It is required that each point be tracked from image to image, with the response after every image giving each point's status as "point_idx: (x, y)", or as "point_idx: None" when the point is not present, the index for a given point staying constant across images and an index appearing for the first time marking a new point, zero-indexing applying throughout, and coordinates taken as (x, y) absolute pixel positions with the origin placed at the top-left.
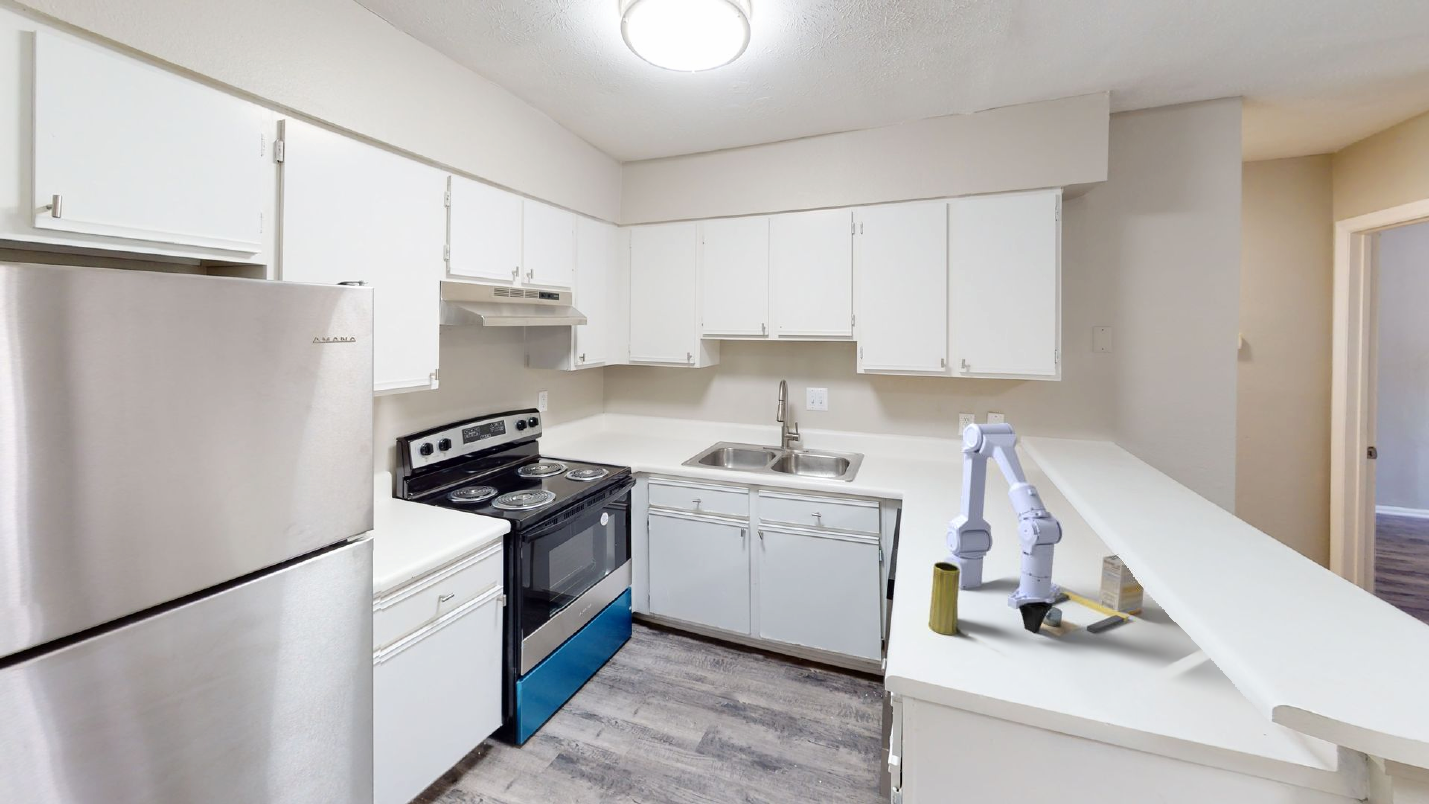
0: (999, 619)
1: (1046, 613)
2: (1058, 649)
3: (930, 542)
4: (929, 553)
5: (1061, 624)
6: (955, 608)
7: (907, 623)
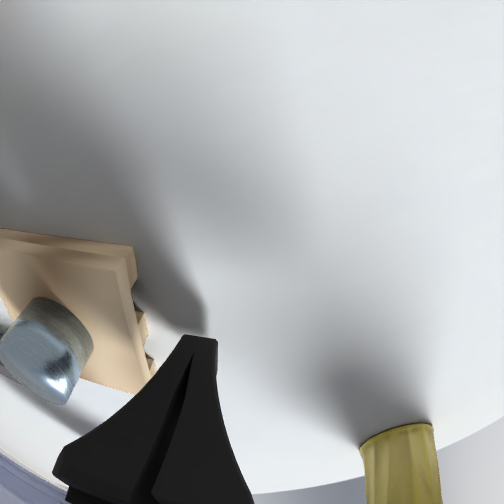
0: None
1: (112, 425)
2: (192, 209)
3: None
4: None
5: (29, 299)
6: (422, 494)
7: None
